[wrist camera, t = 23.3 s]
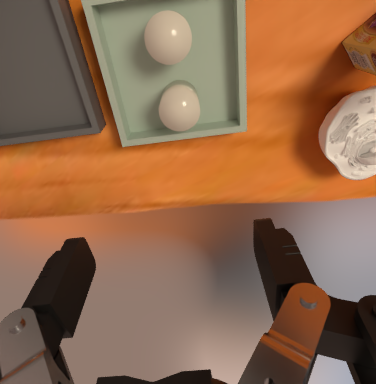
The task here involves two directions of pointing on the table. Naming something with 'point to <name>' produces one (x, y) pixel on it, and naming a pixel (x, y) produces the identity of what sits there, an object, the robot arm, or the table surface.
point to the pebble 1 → (168, 37)
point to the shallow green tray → (171, 66)
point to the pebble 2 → (179, 106)
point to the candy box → (363, 46)
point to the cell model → (351, 135)
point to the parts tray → (44, 74)
